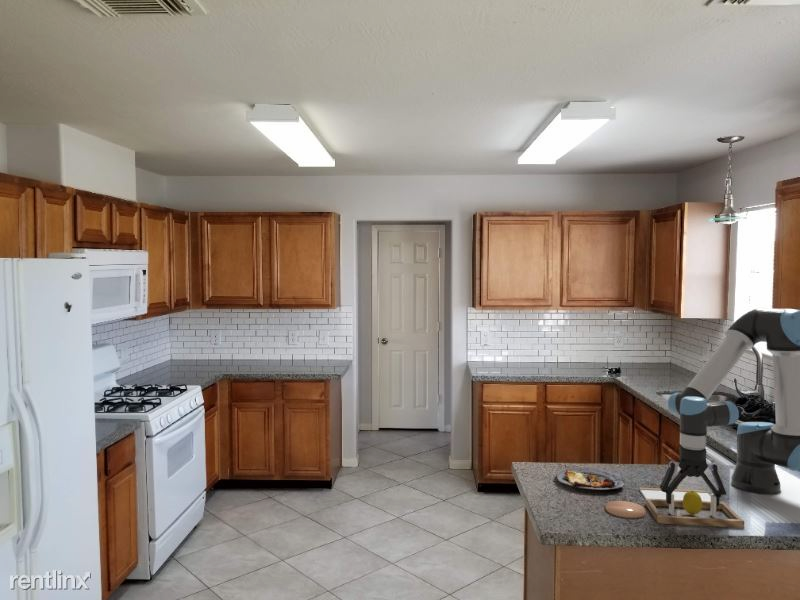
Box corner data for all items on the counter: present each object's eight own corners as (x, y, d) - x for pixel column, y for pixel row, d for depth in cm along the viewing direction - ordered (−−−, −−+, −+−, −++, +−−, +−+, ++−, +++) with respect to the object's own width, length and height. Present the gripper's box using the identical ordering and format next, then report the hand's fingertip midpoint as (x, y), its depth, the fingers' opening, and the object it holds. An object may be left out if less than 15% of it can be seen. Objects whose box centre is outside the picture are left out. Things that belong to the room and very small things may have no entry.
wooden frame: (723, 507, 191) (723, 501, 191) (744, 527, 176) (744, 521, 175) (644, 503, 195) (644, 497, 195) (658, 523, 179) (658, 516, 179)
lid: (705, 493, 204) (705, 490, 204) (719, 507, 191) (720, 504, 191) (639, 490, 208) (639, 487, 208) (648, 504, 195) (648, 501, 195)
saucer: (640, 504, 194) (640, 501, 194) (649, 519, 182) (649, 516, 182) (602, 502, 196) (602, 499, 196) (609, 517, 184) (609, 513, 184)
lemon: (679, 512, 188) (679, 487, 187) (695, 511, 188) (695, 487, 188) (689, 519, 182) (689, 493, 182) (705, 518, 183) (706, 493, 182)
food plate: (629, 496, 201) (629, 486, 201) (559, 493, 206) (559, 483, 206) (617, 475, 226) (617, 466, 226) (555, 472, 231) (555, 463, 231)
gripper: (729, 444, 186) (728, 512, 187) (649, 442, 190) (649, 508, 191) (738, 451, 179) (738, 521, 179) (656, 448, 183) (655, 517, 183)
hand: (692, 515), depth 185 cm, fingers open, 12 cm apart
